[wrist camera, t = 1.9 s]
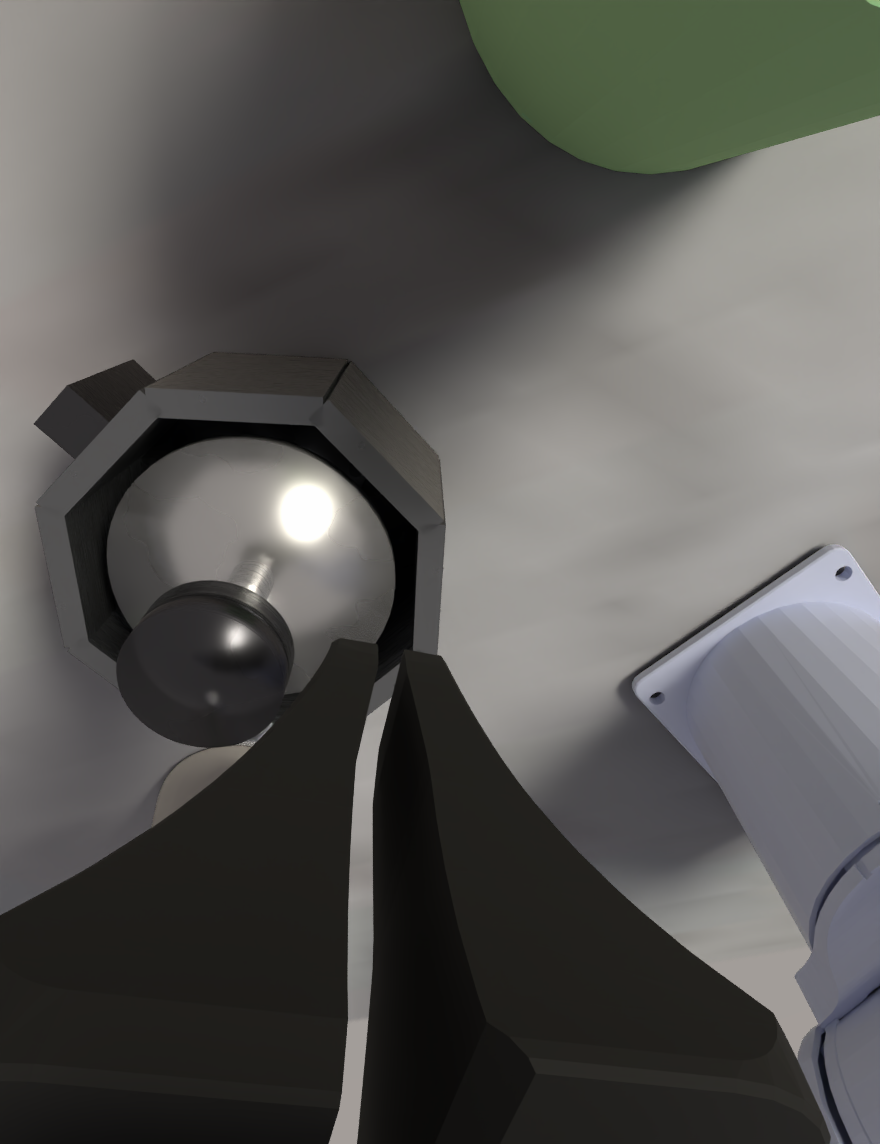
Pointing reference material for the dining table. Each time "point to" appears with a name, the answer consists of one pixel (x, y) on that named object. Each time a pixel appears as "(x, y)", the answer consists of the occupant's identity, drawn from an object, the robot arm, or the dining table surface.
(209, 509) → the plunger
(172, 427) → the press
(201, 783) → the beer glass
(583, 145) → the mug
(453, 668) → the dining table surface
